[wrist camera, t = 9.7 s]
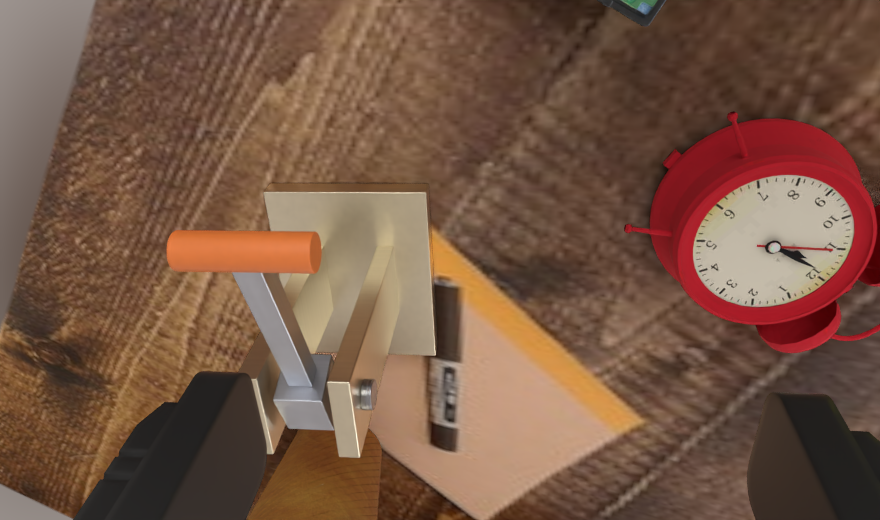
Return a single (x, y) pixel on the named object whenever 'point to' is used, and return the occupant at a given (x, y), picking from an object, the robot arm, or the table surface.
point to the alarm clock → (768, 229)
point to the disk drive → (636, 9)
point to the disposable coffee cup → (322, 481)
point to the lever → (268, 307)
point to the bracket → (352, 294)
